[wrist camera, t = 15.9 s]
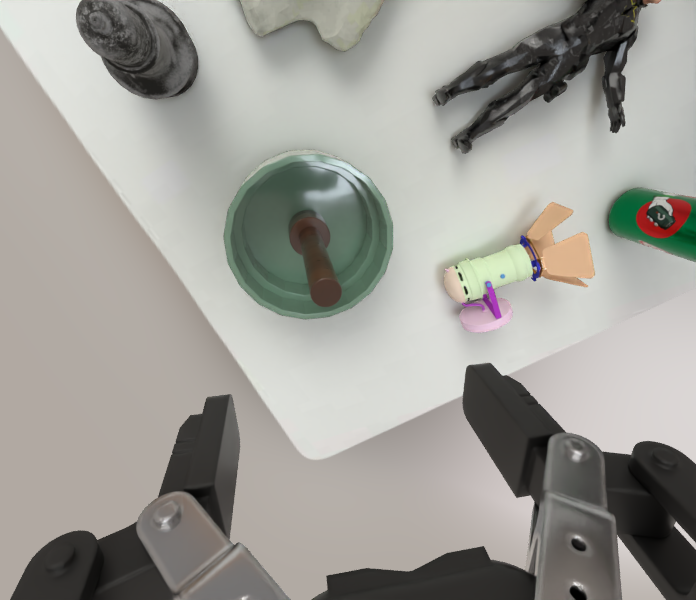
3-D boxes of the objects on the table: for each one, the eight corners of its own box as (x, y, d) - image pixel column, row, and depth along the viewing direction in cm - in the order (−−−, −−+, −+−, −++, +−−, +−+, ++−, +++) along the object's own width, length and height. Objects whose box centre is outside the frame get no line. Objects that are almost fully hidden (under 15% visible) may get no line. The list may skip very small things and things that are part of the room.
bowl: (221, 153, 33) (210, 159, 27) (375, 145, 34) (394, 150, 29) (243, 297, 38) (238, 326, 33) (376, 285, 40) (392, 310, 34)
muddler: (286, 211, 35) (292, 267, 21) (325, 208, 35) (355, 261, 22) (290, 248, 36) (298, 323, 23) (327, 245, 37) (356, 317, 23)
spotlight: (544, 198, 39) (584, 214, 32) (560, 272, 42) (600, 302, 35) (427, 243, 41) (441, 268, 34) (451, 311, 44) (468, 346, 37)
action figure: (409, 16, 28) (681, -176, 25) (395, 26, 32) (631, -139, 29) (493, 211, 35) (714, 77, 32) (474, 201, 39) (670, 80, 36)
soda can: (603, 241, 42) (716, 283, 31) (605, 194, 40) (727, 221, 29) (647, 228, 42) (775, 264, 31) (651, 180, 40) (790, 202, 29)
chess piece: (164, -9, 28) (94, -93, 17) (218, 74, 30) (186, 47, 20) (98, 39, 28) (-12, -12, 18) (156, 117, 31) (91, 114, 20)
